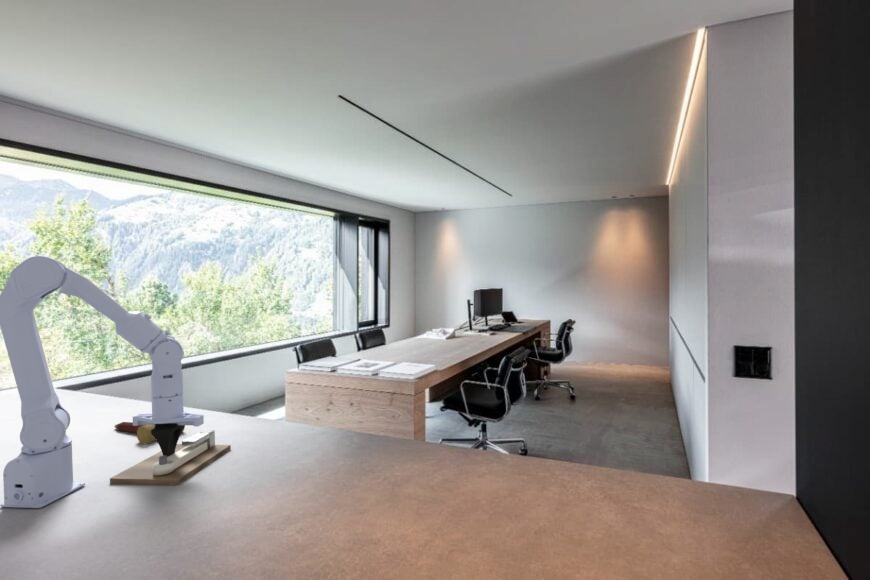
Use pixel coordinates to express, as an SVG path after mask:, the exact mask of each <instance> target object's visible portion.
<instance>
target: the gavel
mask: <svg viewBox="0 0 870 580" xmlns="http://www.w3.org/2000/svg"><path fill="white" fill-rule="evenodd" d="M114 428H115V429H116V430H117V431H119V432H125V433H135V434H136V437H137V440H138V442H139V444H143V445H148V444H150V443H153V442H155V441H157V440H156V439H155V438H154V436H153V435H152V434H151V430H152V429H154V428H155V425H138V426H133V421H132V422H130V421H123V422H120V423H117V424H114ZM185 428H186V426H185V427H184V429H183V431H182V432H184V430H185ZM182 432H181V433H182Z"/></svg>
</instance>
